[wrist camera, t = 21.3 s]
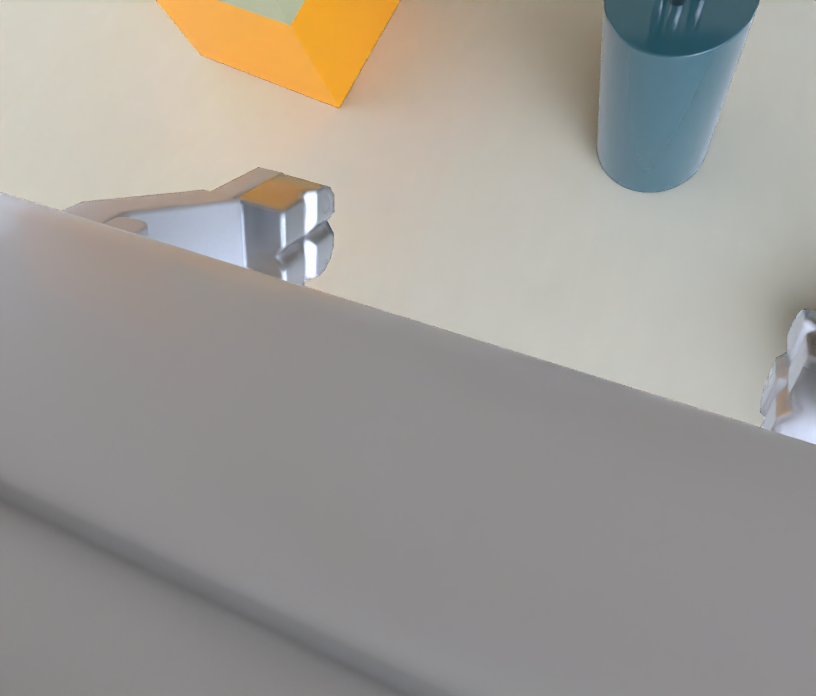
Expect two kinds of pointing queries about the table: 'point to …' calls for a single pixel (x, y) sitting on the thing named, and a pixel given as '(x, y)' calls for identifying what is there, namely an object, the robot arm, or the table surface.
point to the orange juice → (287, 39)
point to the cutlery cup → (665, 85)
